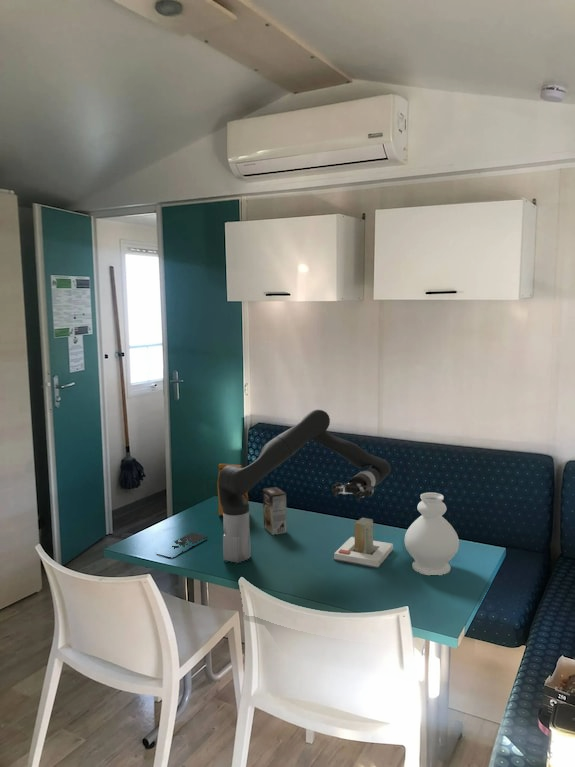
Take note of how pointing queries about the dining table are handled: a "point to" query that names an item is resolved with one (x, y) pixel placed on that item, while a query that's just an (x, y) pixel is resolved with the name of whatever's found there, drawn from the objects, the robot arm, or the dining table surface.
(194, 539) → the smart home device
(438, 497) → the decorative vase
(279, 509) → the coffee box
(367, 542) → the skincare box
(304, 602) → the dining table surface
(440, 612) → the dining table surface
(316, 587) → the dining table surface
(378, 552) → the socket plate
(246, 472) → the robot arm
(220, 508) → the coffee package
